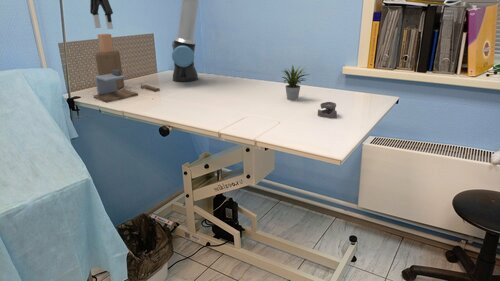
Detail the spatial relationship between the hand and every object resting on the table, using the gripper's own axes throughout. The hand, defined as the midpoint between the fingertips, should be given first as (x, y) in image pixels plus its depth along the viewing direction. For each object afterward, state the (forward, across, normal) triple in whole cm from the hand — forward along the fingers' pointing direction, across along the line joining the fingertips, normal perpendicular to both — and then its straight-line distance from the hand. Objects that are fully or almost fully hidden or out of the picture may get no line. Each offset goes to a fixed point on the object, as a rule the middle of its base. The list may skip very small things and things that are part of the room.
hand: (104, 28), depth 188 cm
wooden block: (+32, 0, -1) cm, 32 cm away
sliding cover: (+30, +18, -10) cm, 36 cm away
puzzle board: (+32, +18, -2) cm, 37 cm away
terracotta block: (+12, 0, 0) cm, 12 cm away
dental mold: (+33, +116, +35) cm, 126 cm away
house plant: (+33, +90, +44) cm, 105 cm away
